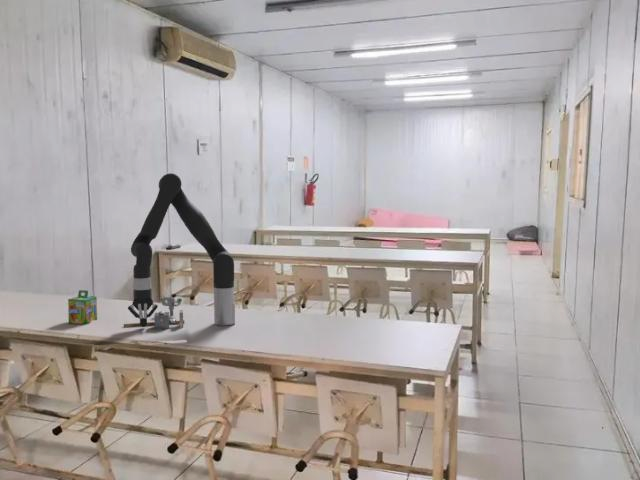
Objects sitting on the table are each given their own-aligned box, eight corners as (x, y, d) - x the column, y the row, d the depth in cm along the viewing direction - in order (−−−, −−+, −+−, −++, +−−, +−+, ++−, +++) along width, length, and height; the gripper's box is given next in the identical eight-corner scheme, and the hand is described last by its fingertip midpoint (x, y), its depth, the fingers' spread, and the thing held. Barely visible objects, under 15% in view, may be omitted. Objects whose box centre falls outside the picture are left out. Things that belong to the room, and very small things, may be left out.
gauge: (176, 324, 238) (175, 309, 237) (176, 329, 229) (175, 313, 229) (155, 325, 235) (155, 310, 235) (154, 331, 227) (153, 315, 226)
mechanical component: (180, 319, 252) (179, 298, 251) (160, 318, 254) (159, 297, 253) (182, 317, 255) (182, 297, 254) (163, 316, 257) (162, 296, 256)
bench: (184, 325, 240) (184, 308, 240) (184, 331, 231) (184, 313, 230) (124, 329, 234) (123, 311, 233) (121, 335, 224) (120, 317, 224)
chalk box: (68, 323, 244) (66, 292, 242) (80, 319, 253) (79, 288, 251) (86, 324, 242) (84, 293, 241) (98, 319, 251) (96, 289, 250)
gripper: (158, 285, 235) (159, 323, 236) (127, 286, 231) (128, 325, 233) (157, 288, 227) (158, 327, 229) (125, 289, 224) (126, 329, 226)
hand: (143, 326), depth 231 cm, fingers closed
